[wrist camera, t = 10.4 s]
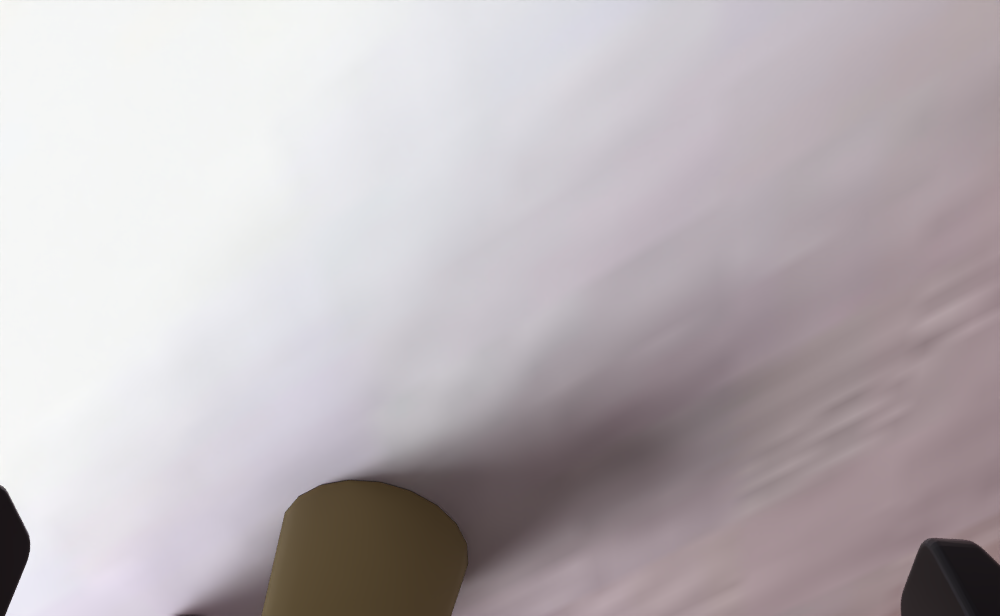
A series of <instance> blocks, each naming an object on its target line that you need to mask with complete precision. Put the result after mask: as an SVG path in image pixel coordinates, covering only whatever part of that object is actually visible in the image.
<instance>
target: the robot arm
mask: <svg viewBox="0 0 1000 616" xmlns="http://www.w3.org/2000/svg"><path fill="white" fill-rule="evenodd" d="M29 552H30V538H29V534H28V532H27V530H26V528H25V526H24V524H23V522H22V520H21V518H20V516H19V514H18V512H17V510H16V508H15V506H14V504H13V502H12V500H11V498H10V496H9V494H8V492H7V491H6V489H5V488H4V487H3V486H1V485H0V616H5V614H6V612H7V609H8V607H9V604H10V602H11V600H12V597H13V595H14V592H15V590H16V587H17V585H18V583H19V580H20V578H21V575H22V573H23V570H24V568H25V565H26V563H27V560H28V557H29ZM901 616H1000V565H999V564H998V563H997V562H996V561H995V560H994V559H993V558H992V557H991V556H990V555H989V554H988V553H987V552H986V551H985V550H983V549H982V548H981V547H980V546H979V545H977V544H975V543H974V542H971V541H968V540H960V539H943V538H929V539H927V540H925V541H924V542H923V543H922V544H921V546H920V548H919V550H918V552H917V555H916V558H915V560H914V563H913V566H912V568H911V571H910V574H909V576H908V579H907V582H906V584H905V587H904V590H903V593H902V597H901Z"/></svg>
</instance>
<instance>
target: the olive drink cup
mask: <svg viewBox="0 0 1000 616" xmlns="http://www.w3.org/2000/svg"><path fill="white" fill-rule="evenodd" d="M467 565H468V556H467V544H466V542H465V540H464V538H463V536H462V534H461V532H460V530H459V528H458V526H457V525H456V523H455V522H454V521H453V520H452V519H451V518H449V517H448V516H447V515H446V514H445V513H444V512H443V511H442V510H441V509H440V508H439V507H438V506H437V505H435V504H433V503H431V502H430V501H428V500H426V499H424V498H422V497H421V496H419V495H417V494H415V493H413V492H411V491H409V490H406V489H402V488H399V487H395V486H392V485H388V484H385V483H381V482H370V481H354V480H347V481H341V482H336V483H330V484H325V485H320V486H318V487H316V488H314V489H312V490H310V491H308V492H307V493H305V494H303V495H301V496H299V497H298V498H297V499H296V500H295V501H294V503H293V504H292V505H291V506H290V507H289V509H288V510H287V511H286V512H285V515H284V519H283V524H282V528H281V532H280V537H279V541H278V545H277V550H276V554H275V559H274V563H273V567H272V572H271V576H270V580H269V585H268V589H267V594H266V598H265V602H264V607H263V611H262V616H451V614H452V611H453V608H454V605H455V602H456V599H457V596H458V593H459V590H460V587H461V584H462V581H463V578H464V575H465V571H466V568H467Z"/></svg>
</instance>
